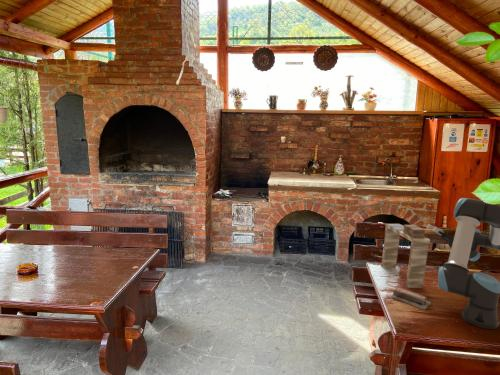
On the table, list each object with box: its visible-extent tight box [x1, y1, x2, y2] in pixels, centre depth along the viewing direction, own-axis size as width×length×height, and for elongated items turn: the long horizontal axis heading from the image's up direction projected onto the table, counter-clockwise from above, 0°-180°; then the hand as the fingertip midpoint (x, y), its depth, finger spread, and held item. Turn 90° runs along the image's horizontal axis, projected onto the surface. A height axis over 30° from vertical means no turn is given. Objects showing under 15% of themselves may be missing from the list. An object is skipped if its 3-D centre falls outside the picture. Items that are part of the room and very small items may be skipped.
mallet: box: [403, 224, 444, 238], centre depth 209 cm, size 10×22×5 cm, turn 98°
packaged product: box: [390, 286, 432, 310], centre depth 190 cm, size 18×5×10 cm
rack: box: [380, 223, 431, 289], centre depth 219 cm, size 32×10×30 cm, turn 8°
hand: (431, 227), depth 209 cm, fingers open, 5 cm apart
